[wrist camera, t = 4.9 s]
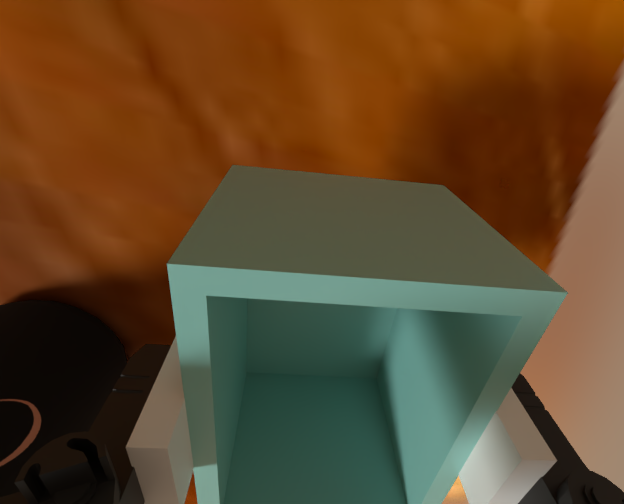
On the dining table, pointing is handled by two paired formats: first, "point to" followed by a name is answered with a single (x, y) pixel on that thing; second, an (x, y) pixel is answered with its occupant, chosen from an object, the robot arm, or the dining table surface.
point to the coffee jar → (50, 377)
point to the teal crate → (345, 337)
